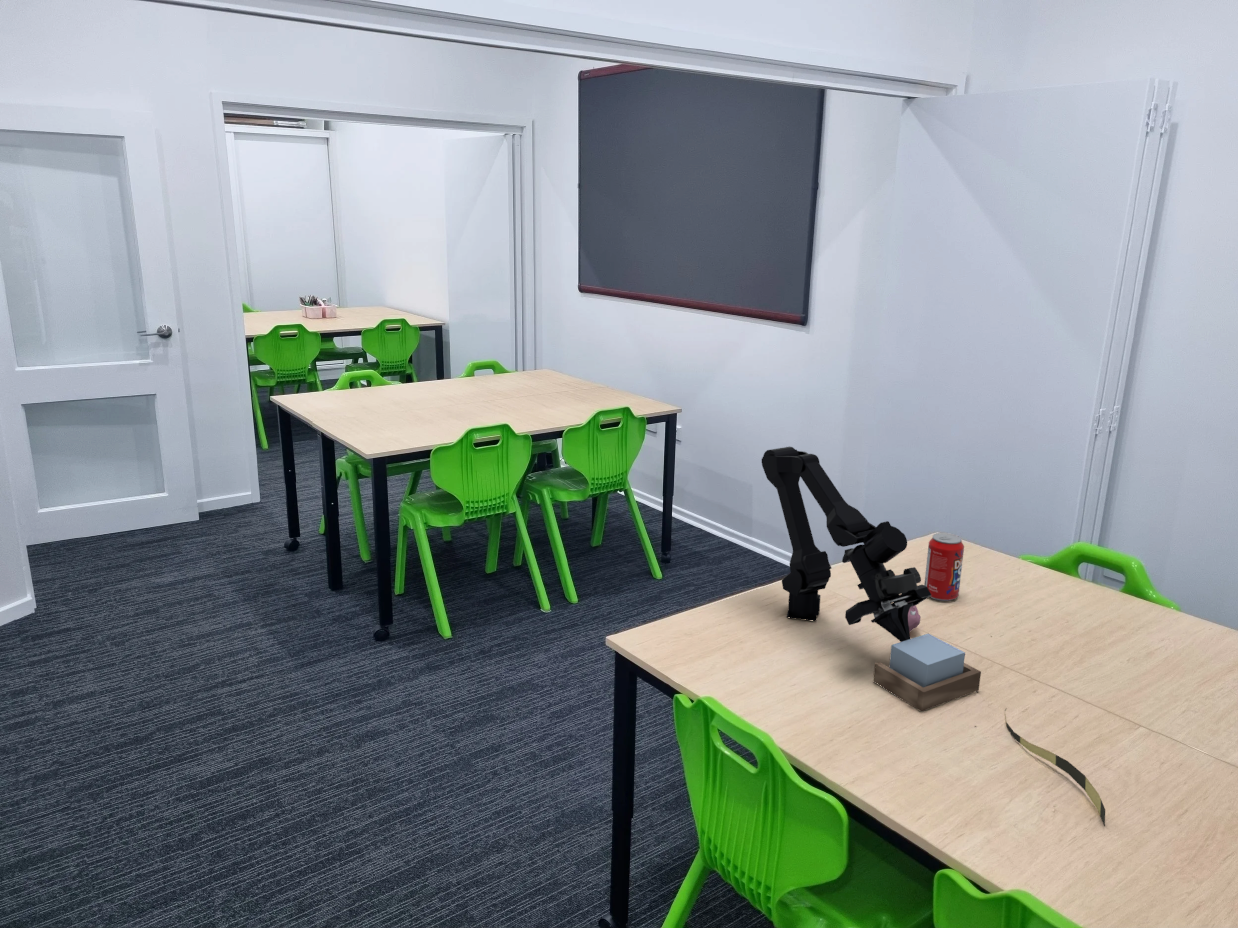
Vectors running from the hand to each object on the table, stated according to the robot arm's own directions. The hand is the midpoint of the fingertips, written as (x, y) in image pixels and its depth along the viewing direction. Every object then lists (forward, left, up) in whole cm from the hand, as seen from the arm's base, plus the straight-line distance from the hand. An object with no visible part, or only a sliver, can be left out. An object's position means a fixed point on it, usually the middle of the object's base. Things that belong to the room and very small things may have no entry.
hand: (908, 644), depth 174 cm
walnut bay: (+3, -3, -7) cm, 8 cm away
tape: (+23, -21, -7) cm, 32 cm away
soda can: (+9, +41, -7) cm, 42 cm away
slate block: (+3, -3, -7) cm, 8 cm away
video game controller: (0, +21, -7) cm, 22 cm away
